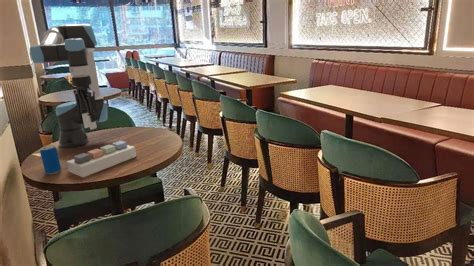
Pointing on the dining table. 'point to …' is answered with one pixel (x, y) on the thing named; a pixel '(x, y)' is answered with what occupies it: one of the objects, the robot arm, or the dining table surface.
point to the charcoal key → (82, 158)
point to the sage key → (108, 149)
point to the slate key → (120, 145)
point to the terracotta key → (95, 153)
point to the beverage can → (50, 159)
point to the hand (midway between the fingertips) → (90, 127)
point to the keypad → (101, 162)
